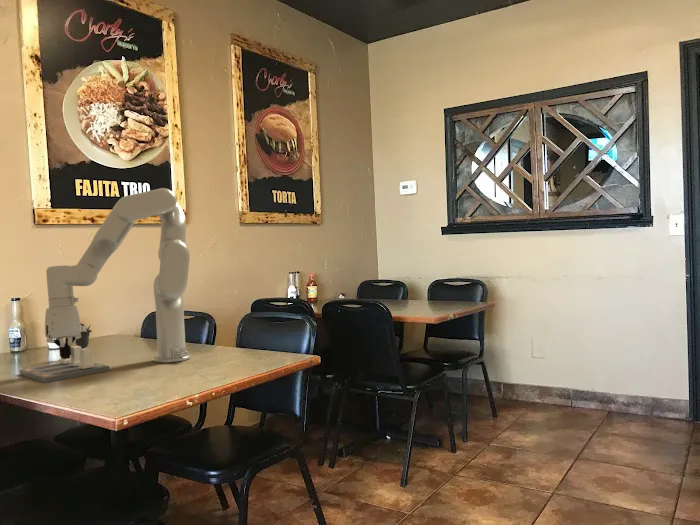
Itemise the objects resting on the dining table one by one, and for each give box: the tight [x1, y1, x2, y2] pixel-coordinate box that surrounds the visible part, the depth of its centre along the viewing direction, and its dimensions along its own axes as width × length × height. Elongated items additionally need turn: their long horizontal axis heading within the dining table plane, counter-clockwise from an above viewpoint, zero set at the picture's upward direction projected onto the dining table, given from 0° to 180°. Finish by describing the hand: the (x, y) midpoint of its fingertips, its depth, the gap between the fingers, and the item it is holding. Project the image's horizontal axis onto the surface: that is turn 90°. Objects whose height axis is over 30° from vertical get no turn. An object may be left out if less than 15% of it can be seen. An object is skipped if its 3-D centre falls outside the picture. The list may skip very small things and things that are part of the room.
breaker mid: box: [69, 345, 81, 366], centre depth 196 cm, size 4×4×6 cm
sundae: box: [74, 322, 93, 349], centre depth 218 cm, size 7×7×15 cm
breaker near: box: [78, 347, 94, 369], centre depth 191 cm, size 4×4×6 cm
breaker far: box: [58, 344, 73, 364], centre depth 201 cm, size 4×4×6 cm
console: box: [19, 361, 110, 384], centre depth 193 cm, size 22×20×2 cm
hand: (65, 358), depth 194 cm, fingers closed
